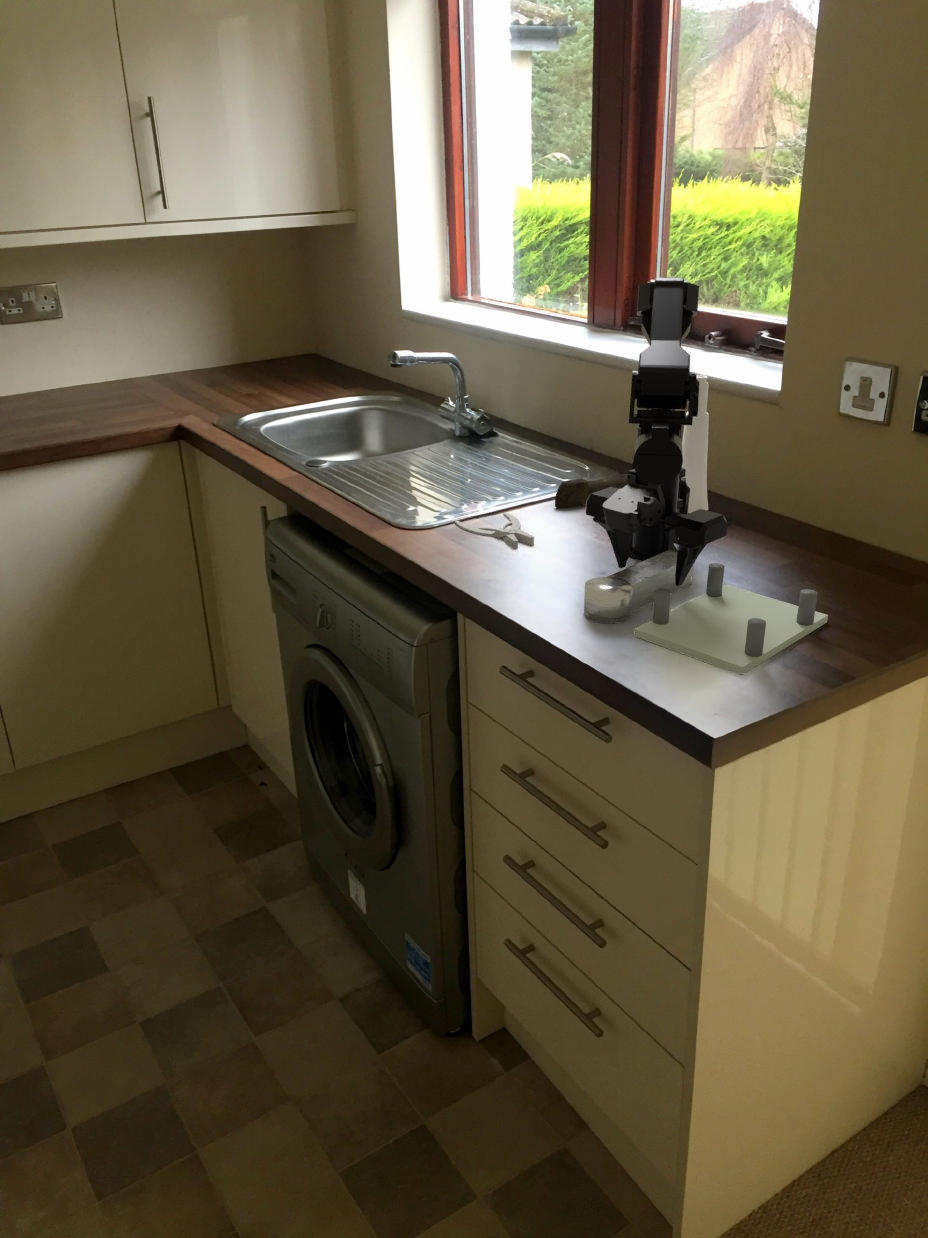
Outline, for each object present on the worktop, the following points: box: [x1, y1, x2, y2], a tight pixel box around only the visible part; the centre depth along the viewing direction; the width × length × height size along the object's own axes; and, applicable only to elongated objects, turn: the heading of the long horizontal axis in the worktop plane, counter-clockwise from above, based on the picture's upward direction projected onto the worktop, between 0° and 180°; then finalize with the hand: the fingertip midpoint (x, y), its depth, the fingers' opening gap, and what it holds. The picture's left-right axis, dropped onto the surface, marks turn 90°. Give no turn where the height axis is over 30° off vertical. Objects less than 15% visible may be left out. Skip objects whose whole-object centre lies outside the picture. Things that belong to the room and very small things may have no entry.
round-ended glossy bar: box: [583, 550, 693, 625], centre depth 134 cm, size 6×19×4 cm, turn 135°
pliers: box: [454, 512, 535, 549], centre depth 160 cm, size 10×2×15 cm
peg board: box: [633, 562, 829, 676], centre depth 125 cm, size 15×20×5 cm
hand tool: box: [554, 473, 628, 509], centre depth 175 cm, size 19×4×5 cm, turn 119°
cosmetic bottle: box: [682, 374, 710, 513], centre depth 165 cm, size 6×6×22 cm
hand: (649, 576), depth 135 cm, fingers open, 9 cm apart
